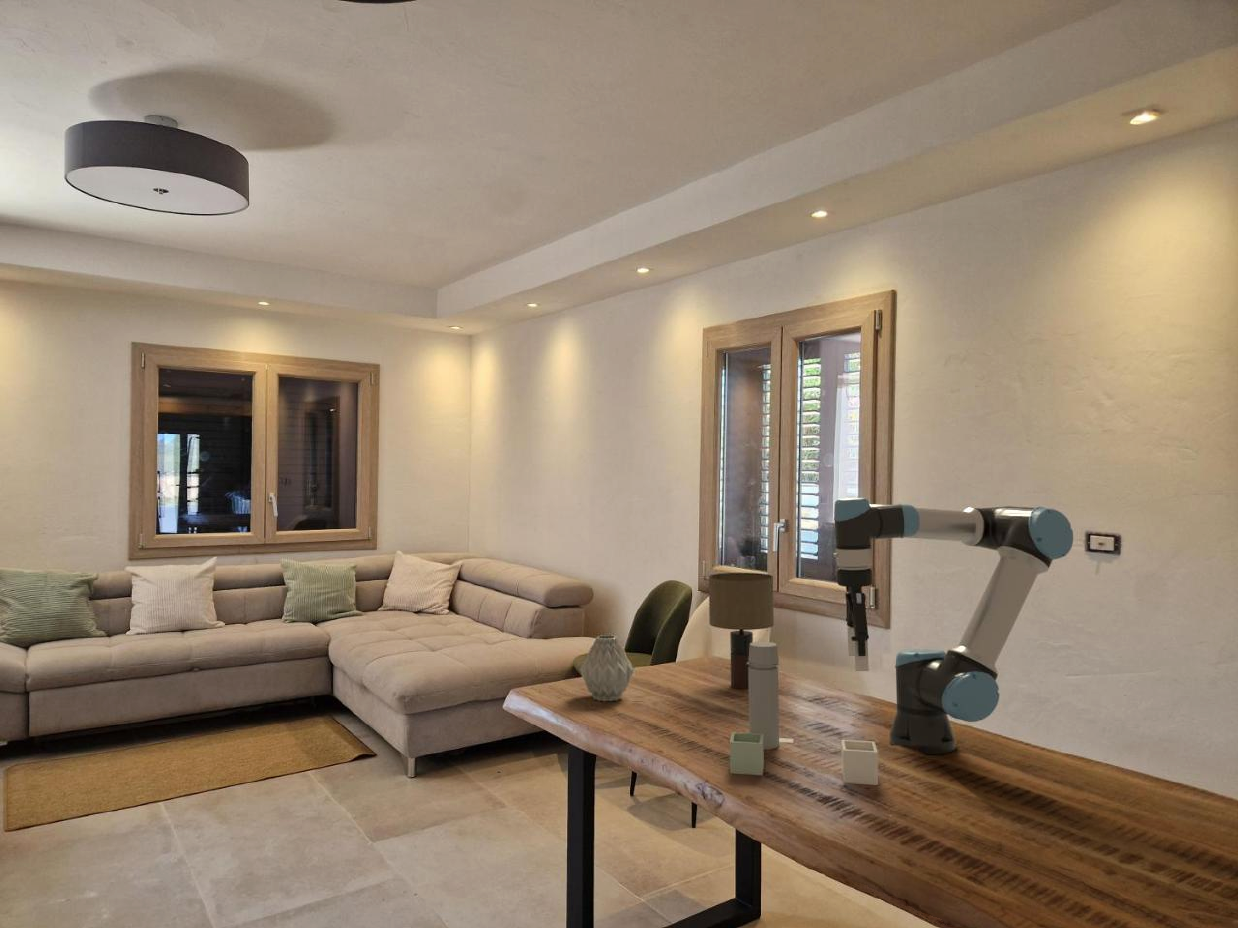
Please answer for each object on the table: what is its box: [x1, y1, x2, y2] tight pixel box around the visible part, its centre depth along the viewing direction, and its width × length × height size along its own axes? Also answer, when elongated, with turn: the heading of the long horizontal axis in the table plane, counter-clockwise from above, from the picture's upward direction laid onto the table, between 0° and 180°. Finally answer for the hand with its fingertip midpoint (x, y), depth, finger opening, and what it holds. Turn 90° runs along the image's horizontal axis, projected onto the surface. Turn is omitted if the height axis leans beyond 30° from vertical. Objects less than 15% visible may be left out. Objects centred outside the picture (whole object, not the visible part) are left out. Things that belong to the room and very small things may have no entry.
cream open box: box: [840, 739, 879, 786], centre depth 173 cm, size 7×7×8 cm
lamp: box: [708, 572, 775, 690], centre depth 255 cm, size 20×20×35 cm
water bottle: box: [747, 641, 781, 751], centre depth 196 cm, size 9×8×25 cm
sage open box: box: [729, 731, 765, 776], centre depth 179 cm, size 7×7×8 cm
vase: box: [579, 634, 635, 702], centre depth 243 cm, size 16×16×18 cm
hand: (858, 663), depth 178 cm, fingers open, 13 cm apart
